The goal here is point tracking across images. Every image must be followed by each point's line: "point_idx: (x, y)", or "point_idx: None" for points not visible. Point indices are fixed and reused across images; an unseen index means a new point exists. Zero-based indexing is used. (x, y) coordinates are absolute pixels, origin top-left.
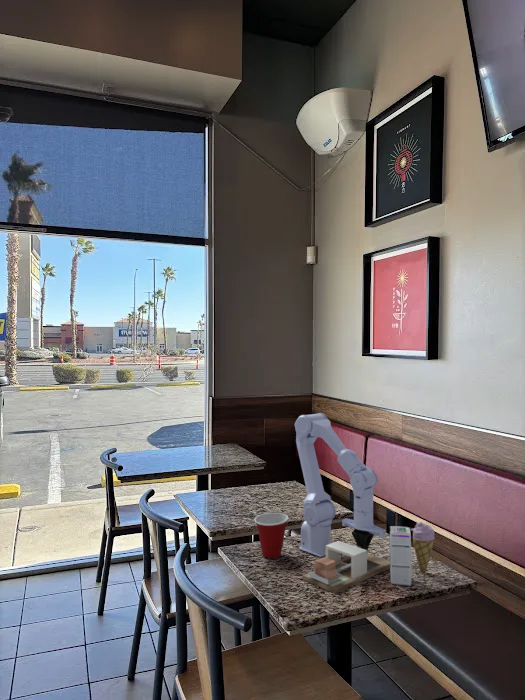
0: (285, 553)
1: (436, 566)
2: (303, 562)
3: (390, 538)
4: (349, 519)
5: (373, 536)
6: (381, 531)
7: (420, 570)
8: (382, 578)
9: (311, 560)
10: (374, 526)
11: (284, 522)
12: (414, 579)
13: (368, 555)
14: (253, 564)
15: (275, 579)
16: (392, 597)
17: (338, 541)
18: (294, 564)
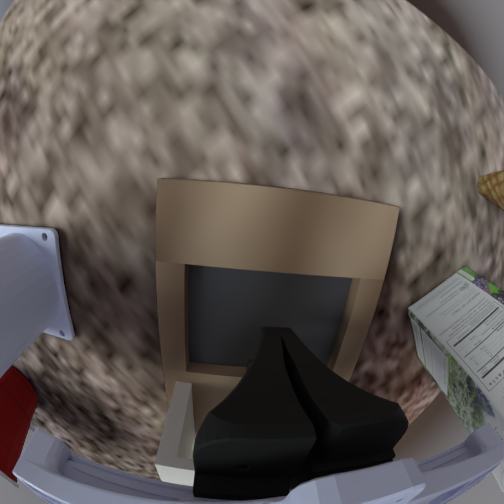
0: (17, 359)
1: (486, 97)
2: (87, 395)
3: (494, 476)
4: (52, 496)
5: (380, 399)
6: (475, 483)
7: (485, 196)
8: (385, 346)
9: (83, 372)
10: (433, 486)
11: (3, 474)
12: (472, 269)
13: (237, 202)
14: (58, 436)
15: (146, 473)
16: (424, 404)
17: (164, 469)
18: (89, 414)
